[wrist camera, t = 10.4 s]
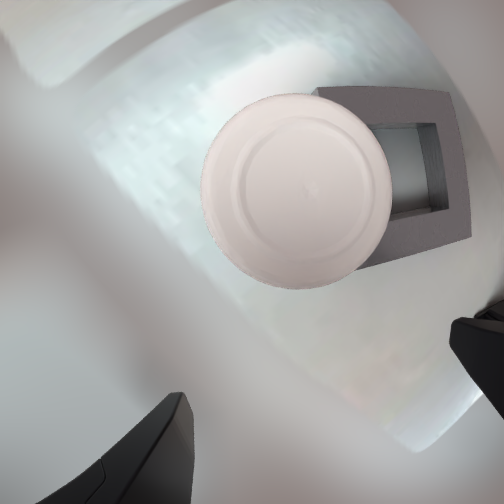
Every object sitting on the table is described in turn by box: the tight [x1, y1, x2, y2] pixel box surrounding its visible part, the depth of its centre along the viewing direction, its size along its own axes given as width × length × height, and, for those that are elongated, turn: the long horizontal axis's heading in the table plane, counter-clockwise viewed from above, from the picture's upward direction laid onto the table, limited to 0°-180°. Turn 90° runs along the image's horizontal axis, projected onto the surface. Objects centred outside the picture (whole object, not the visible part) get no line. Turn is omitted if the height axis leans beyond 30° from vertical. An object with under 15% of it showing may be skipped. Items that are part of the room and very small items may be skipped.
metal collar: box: [311, 86, 472, 271], centre depth 18 cm, size 12×12×2 cm
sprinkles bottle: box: [200, 93, 392, 289], centre depth 12 cm, size 5×5×13 cm
